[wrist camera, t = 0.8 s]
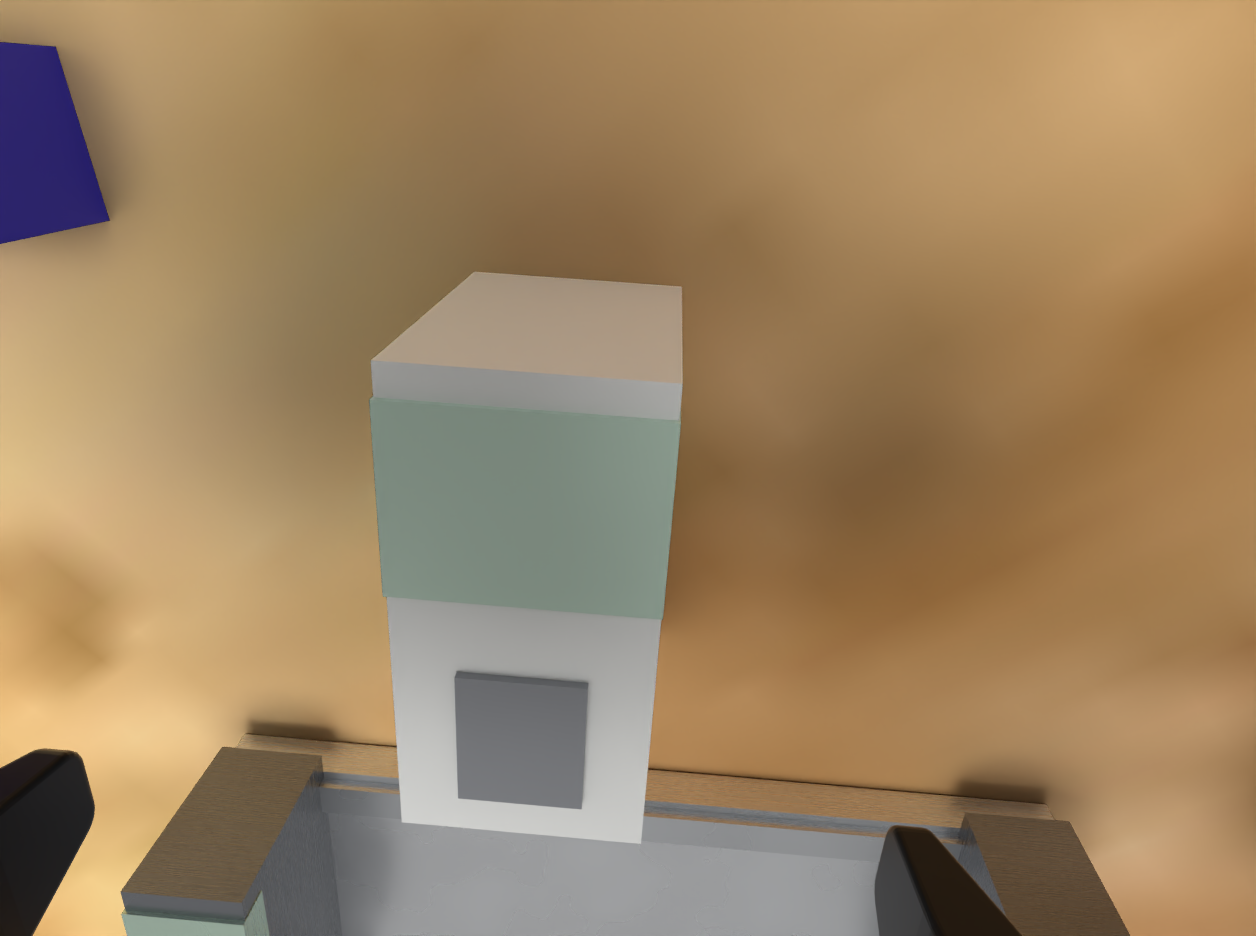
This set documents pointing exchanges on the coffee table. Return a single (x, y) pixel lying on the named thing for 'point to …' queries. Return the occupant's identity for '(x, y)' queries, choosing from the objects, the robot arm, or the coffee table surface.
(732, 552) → the coffee table surface
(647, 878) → the rail
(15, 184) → the cable clip
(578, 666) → the module
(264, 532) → the coffee table surface
